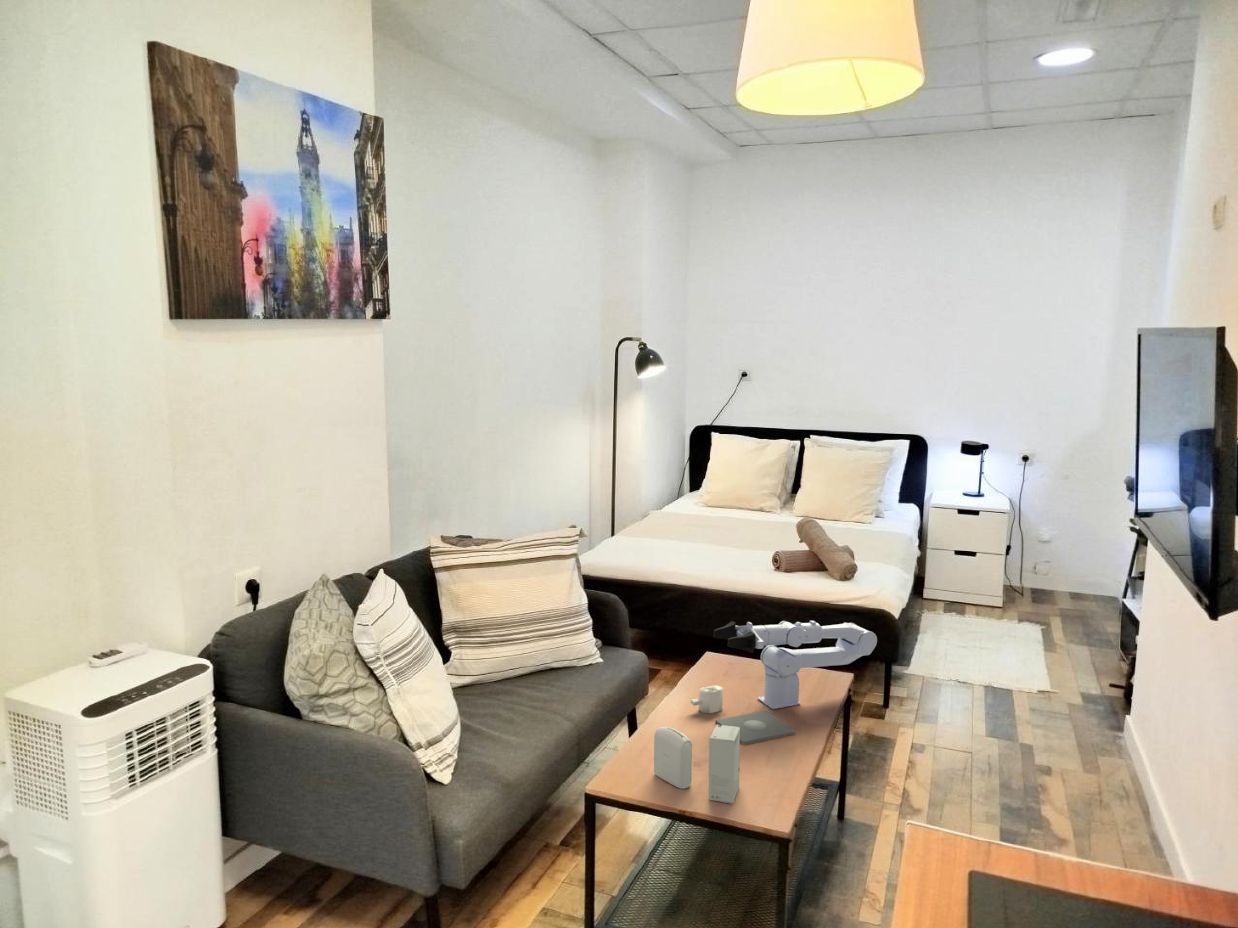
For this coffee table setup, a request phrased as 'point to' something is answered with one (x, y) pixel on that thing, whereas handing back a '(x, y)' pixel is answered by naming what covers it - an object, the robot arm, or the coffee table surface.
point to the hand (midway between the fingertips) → (720, 638)
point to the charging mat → (757, 726)
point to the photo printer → (673, 757)
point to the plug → (709, 699)
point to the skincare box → (724, 763)
